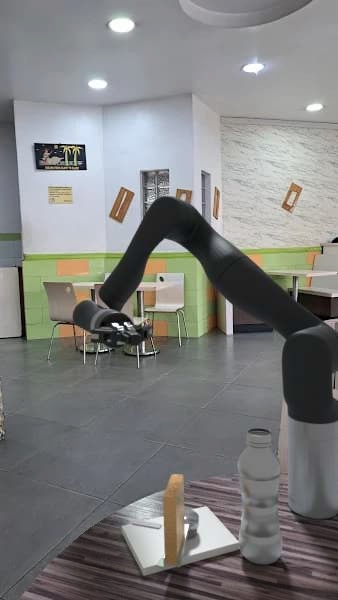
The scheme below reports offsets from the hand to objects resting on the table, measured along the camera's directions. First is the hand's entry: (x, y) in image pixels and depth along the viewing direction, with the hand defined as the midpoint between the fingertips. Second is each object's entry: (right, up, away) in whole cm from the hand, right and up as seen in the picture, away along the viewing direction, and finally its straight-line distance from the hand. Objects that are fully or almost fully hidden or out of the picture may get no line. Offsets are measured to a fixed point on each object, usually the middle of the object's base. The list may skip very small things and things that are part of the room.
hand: (135, 340), depth 85 cm
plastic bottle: (+20, -33, -11) cm, 40 cm away
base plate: (+8, -32, -6) cm, 34 cm away
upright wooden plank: (+8, -30, -11) cm, 33 cm away
